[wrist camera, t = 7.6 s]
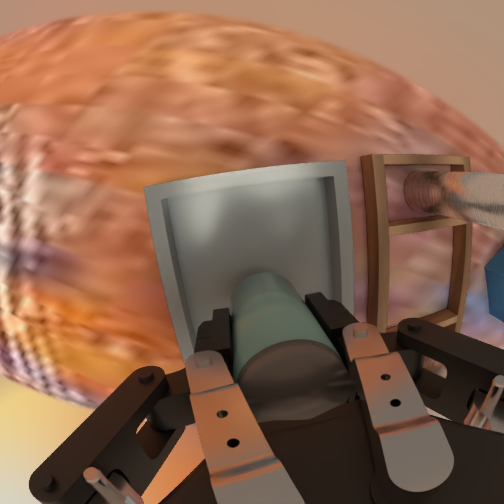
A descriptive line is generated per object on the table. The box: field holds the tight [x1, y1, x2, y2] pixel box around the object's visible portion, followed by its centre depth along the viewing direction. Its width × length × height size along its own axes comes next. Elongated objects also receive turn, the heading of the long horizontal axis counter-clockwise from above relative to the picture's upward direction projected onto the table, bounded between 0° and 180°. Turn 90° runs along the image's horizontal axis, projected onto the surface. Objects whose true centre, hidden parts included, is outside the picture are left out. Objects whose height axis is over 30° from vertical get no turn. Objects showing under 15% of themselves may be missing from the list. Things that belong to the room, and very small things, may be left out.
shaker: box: [230, 272, 351, 423], centre depth 11 cm, size 4×4×7 cm
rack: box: [361, 154, 472, 333], centre depth 18 cm, size 9×18×2 cm, turn 8°
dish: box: [144, 160, 354, 364], centre depth 16 cm, size 11×14×2 cm
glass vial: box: [404, 171, 504, 231], centre depth 12 cm, size 3×3×10 cm
